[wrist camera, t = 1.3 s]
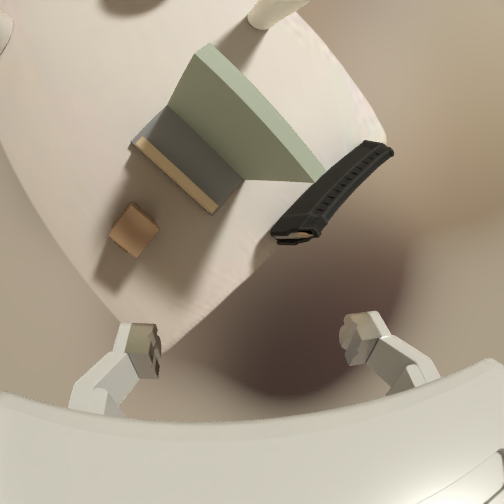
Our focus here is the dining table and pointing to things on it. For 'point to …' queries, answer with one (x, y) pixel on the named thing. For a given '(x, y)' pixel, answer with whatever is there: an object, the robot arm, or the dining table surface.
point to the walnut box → (133, 230)
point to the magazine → (329, 194)
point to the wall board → (223, 134)
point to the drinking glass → (272, 12)
